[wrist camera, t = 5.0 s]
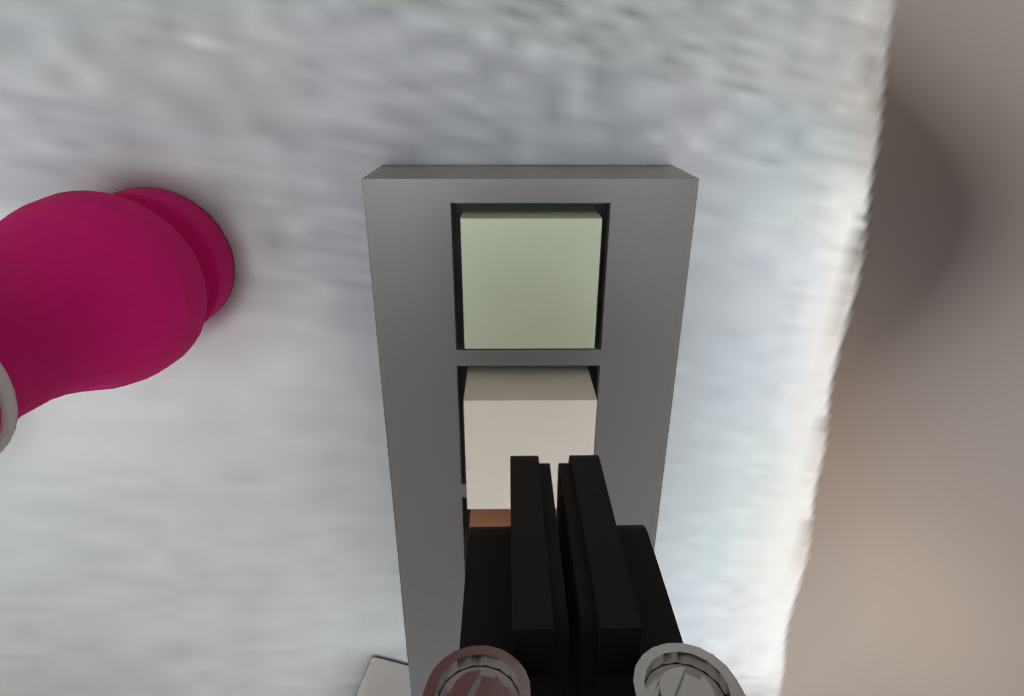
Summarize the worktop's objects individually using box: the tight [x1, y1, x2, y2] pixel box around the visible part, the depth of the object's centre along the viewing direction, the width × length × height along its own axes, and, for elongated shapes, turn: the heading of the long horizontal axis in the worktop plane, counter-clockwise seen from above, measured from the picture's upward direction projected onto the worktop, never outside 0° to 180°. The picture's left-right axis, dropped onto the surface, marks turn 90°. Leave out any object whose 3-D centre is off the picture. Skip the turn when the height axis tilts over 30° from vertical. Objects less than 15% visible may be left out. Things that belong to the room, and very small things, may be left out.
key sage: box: [460, 203, 602, 349], centre depth 24 cm, size 5×5×4 cm
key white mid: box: [464, 366, 597, 509], centre depth 25 cm, size 5×5×4 cm
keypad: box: [362, 165, 699, 696], centre depth 29 cm, size 27×12×4 cm, turn 0°
